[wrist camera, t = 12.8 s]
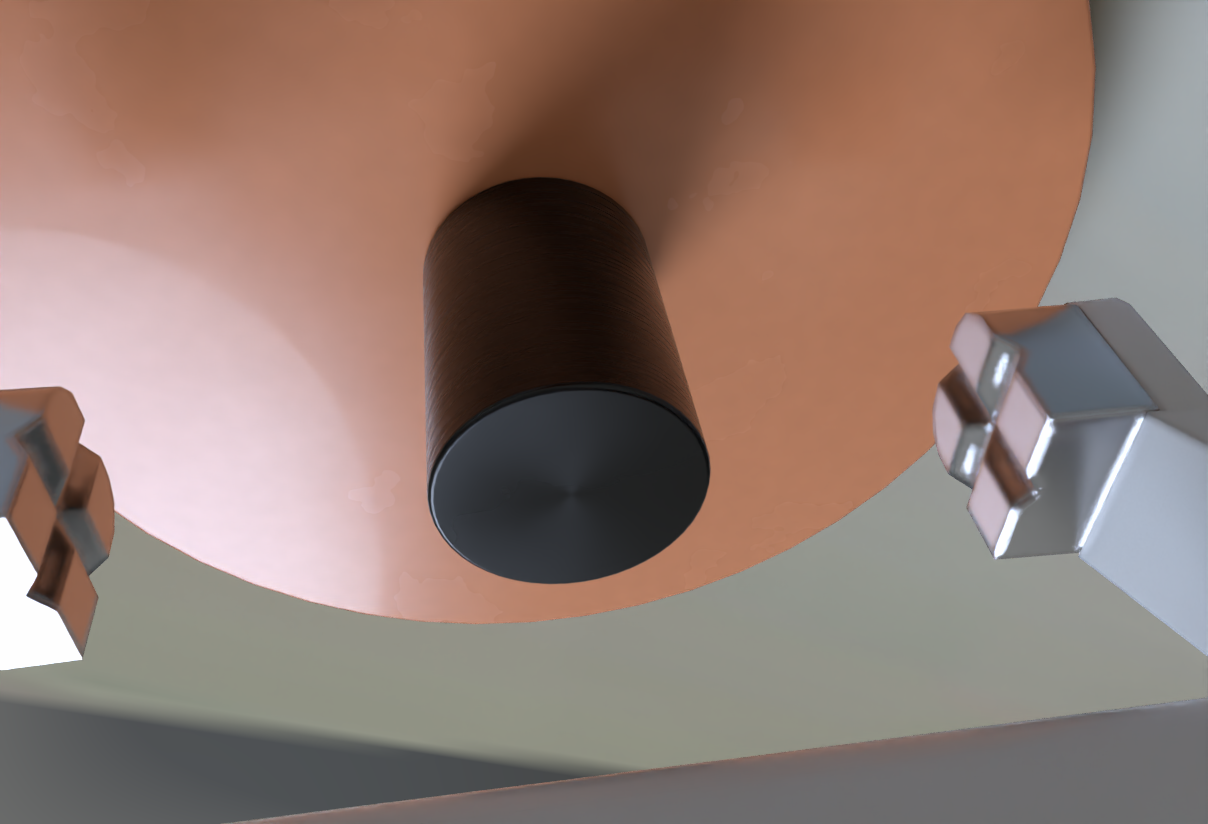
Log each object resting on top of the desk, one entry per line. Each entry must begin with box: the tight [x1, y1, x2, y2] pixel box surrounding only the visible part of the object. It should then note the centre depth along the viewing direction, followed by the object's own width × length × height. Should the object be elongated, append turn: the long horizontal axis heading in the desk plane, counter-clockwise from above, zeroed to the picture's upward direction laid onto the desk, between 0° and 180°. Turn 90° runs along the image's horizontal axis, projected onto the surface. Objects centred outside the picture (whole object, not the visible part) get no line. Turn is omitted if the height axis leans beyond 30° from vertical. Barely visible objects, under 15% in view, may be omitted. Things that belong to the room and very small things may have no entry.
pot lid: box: [0, 0, 1096, 624], centre depth 11 cm, size 13×13×5 cm
